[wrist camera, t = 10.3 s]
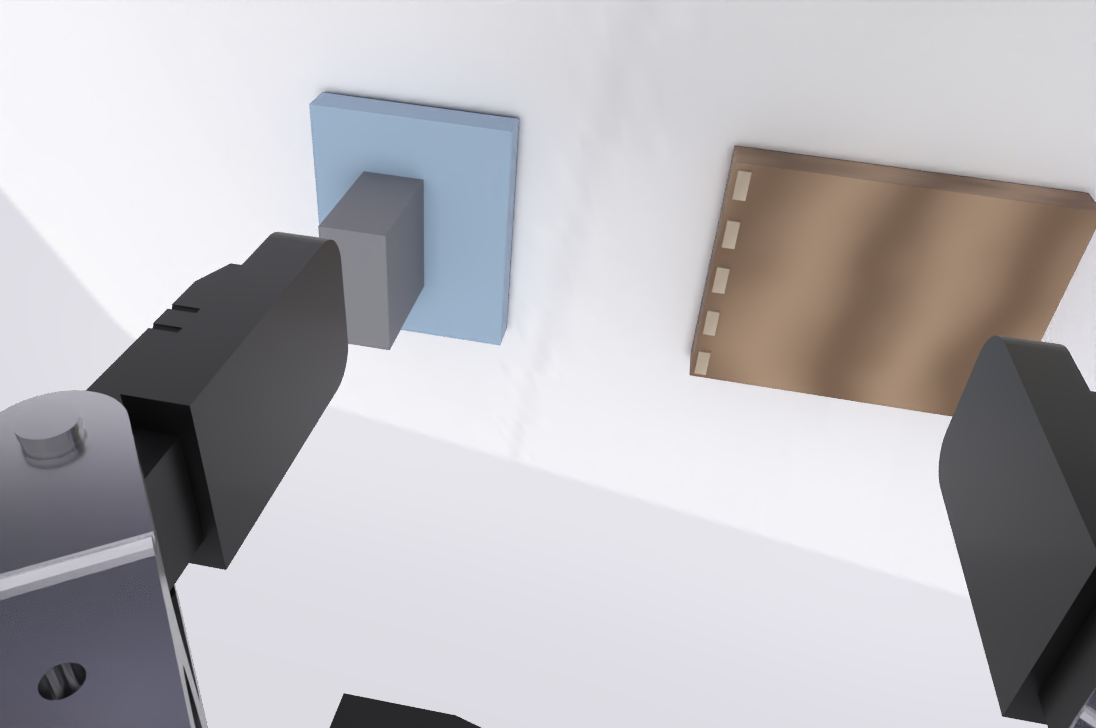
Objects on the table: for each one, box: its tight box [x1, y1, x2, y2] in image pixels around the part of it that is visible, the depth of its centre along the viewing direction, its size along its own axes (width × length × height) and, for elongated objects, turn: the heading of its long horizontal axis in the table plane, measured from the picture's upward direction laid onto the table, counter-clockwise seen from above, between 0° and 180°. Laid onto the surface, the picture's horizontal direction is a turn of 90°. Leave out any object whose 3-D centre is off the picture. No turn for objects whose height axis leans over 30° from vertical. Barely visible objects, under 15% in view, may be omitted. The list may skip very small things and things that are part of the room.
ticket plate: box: [690, 146, 1096, 416], centre depth 44 cm, size 16×12×2 cm
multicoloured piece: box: [309, 92, 519, 350], centre depth 43 cm, size 10×12×8 cm
